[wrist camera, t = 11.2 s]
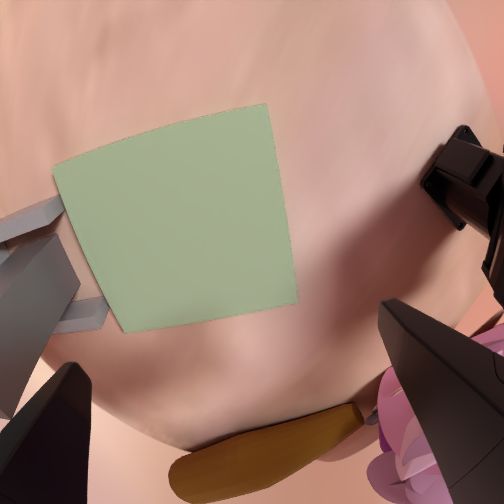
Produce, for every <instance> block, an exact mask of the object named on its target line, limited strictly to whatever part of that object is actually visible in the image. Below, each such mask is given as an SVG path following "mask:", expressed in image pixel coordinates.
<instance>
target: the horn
mask: <svg viewBox="0 0 504 504" xmlns="http://www.w3.org/2000/svg"><path fill="white" fill-rule="evenodd" d="M364 422H365V421H364V418H363V416H362V414H361V412H360V410H359V409H358V407H357V406H356V405H355V404H353V403H350V404H343V405H341V406H338V407H335V408H332V409H329V410H326V411H323V412H320V413H317V414H313V415H310V416H307V417H304V418H300V419H297V420H293V421H290V422H286V423H282V424H279V425H275V426H271V427H267V428H263V429H259V430H254V431H250V432H246V433H243V434H240V435H236V436H234V437H231V438H229V439H227V440H224V441H222V442H219V443H217V444H214V445H212V446H209V447H207V448H204V449H201V450H199V451H196V452H193V453H191V454H188V455H185V456H182V457H181V458H179V459H177V460H176V461H175V462H174V463H173V464H172V465H171V467H170V470H169V474H168V477H169V483H170V486H171V488H172V490H173V491H174V492H175V494H176V495H177V496H178V497H179V498H180V499H182V500H184V501H186V502H189V503H191V504H206V503H211V502H215V501H220V500H224V499H229V498H233V497H237V496H241V495H245V494H248V493H252V492H255V491H259V490H262V489H265V488H268V487H270V486H272V485H274V484H276V483H278V482H279V481H281V480H283V479H285V478H286V477H288V476H290V475H291V474H293V473H295V472H296V471H298V470H300V469H301V468H303V467H304V466H306V465H307V464H309V463H311V462H312V461H314V460H315V459H317V458H318V457H320V456H321V455H323V454H324V453H326V452H327V451H329V450H330V449H332V448H333V447H334V446H336V445H337V444H339V443H340V442H341V441H343V440H344V439H345V438H347V437H348V436H350V435H351V434H352V433H353V432H355V431H356V430H357V429H359V428H360V427H361V426H363V425H364Z"/></svg>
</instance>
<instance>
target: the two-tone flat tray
mask: <svg viewBox="0 0 504 504" xmlns="http://www.w3.org/2000/svg"><path fill="white" fill-rule="evenodd" d="M51 169H52V172H53V175H54V178H55V181H56V184H57V187H58V189H59V192H60V195H61V198H62V200H63V203H64V206H65V208H66V211H67V214H68V216H69V219H70V221H71V224H72V226H73V229H74V231H75V234H76V236H77V238H78V241H79V243H80V245H81V248H82V250H83V252H84V254H85V257H86V259H87V261H88V263H89V265H90V267H91V270H92V272H93V274H94V276H95V278H96V280H97V282H98V284H99V286H100V288H101V290H102V292H103V294H104V296H105V298H106V300H107V302H108V304H109V306H110V308H111V309H112V311H113V313H114V315H115V317H116V319H117V321H118V322H119V324H120V326H121V328H122V329H123V331H124V333H125V334H126V333H133V332H140V331H147V330H154V329H161V328H167V327H173V326H180V325H186V324H192V323H198V322H203V321H209V320H215V319H220V318H226V317H231V316H236V315H241V314H247V313H252V312H257V311H262V310H267V309H272V308H276V307H281V306H286V305H290V304H295V303H299V299H298V291H297V284H296V277H295V269H294V262H293V255H292V248H291V241H290V235H289V228H288V222H287V215H286V209H285V203H284V196H283V190H282V184H281V178H280V172H279V166H278V161H277V155H276V149H275V144H274V138H273V133H272V127H271V122H270V116H269V111H268V106H267V104H261V105H255V106H250V107H244V108H239V109H234V110H229V111H225V112H220V113H215V114H211V115H207V116H203V117H198V118H194V119H190V120H186V121H183V122H179V123H175V124H171V125H168V126H164V127H161V128H157V129H154V130H151V131H147V132H144V133H141V134H138V135H135V136H132V137H128V138H125V139H122V140H119V141H117V142H114V143H111V144H108V145H105V146H102V147H100V148H97V149H94V150H92V151H89V152H86V153H84V154H81V155H79V156H76V157H74V158H71V159H69V160H66V161H64V162H62V163H59V164H57V165H55V166H53V167H52V168H51ZM60 195H56V196H54V197H51V198H49V199H46V200H44V201H41V202H39V203H36V204H34V205H32V206H29V207H27V208H25V209H22V210H20V211H18V212H15V213H13V214H11V215H9V216H6V217H4V218H2V219H0V265H1V264H2V263H3V262H4V261H5V260H6V259H7V258H8V257H9V256H10V253H9V251H8V249H7V247H6V245H5V243H4V241H5V240H8V239H10V238H13V237H16V236H18V235H21V234H24V233H26V232H29V231H32V230H34V229H37V228H40V227H43V226H45V225H48V224H50V223H51V222H52V221H53V220H54V219H55V218H56V217H57V216H59V215H60V214H61V213H62V212H63V211H64V210H65V209H64V206H63V203H62V201H61V198H60ZM104 296H102V297H97V298H91V299H86V300H81V301H75V302H70V303H69V304H68V306H67V307H66V309H65V311H64V313H63V314H62V316H61V318H60V320H59V322H58V323H57V325H56V327H55V329H54V331H53V332H52V334H51V335H53V334H61V333H70V332H78V331H86V330H93V329H101V327H102V325H103V323H104V320H105V318H106V316H107V313H108V311H109V309H110V308H109V306H108V304H107V302H106V300H105V298H104Z"/></svg>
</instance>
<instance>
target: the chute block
mask: <svg viewBox="0 0 504 504" xmlns="http://www.w3.org/2000/svg"><path fill="white" fill-rule="evenodd" d="M80 284H81V283H80V281H79V279H78V277H77V275H76V273H75V271H74V269H73V267H72V265H71V263H70V261H69V259H68V257H67V255H66V252H65V250H64V248H63V246H62V244H61V241H60V239H59V237H58V234H54V235H51V236H48V237H45V238H42V239H39V240H36V241H33V242H30V243H27V244H24V245H22V246H19V247H18V248H17V249H16V250H15V251H14V252H13V253H12V254H11V255H10V256H9V257H8V258H7V259H6V260H5V261H4V262H3V263H2V264H1V265H0V418H2V419H7V420H11V419H12V418H13V415H14V413H15V410H16V408H17V406H18V403H19V401H20V398H21V396H22V393H23V391H24V389H25V387H26V385H27V383H28V380H29V378H30V376H31V374H32V372H33V370H34V368H35V366H36V364H37V362H38V360H39V358H40V356H41V354H42V352H43V350H44V348H45V346H46V344H47V342H48V340H49V338H50V336H51V334H52V332H53V331H54V329H55V327H56V325H57V323H58V322H59V320H60V318H61V316H62V314H63V313H64V311H65V309H66V307H67V306H68V304H69V302H70V301H71V299H72V297H73V296H74V294H75V292H76V291H77V289H78V287H79V286H80Z"/></svg>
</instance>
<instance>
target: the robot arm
mask: <svg viewBox="0 0 504 504" xmlns="http://www.w3.org/2000/svg"><path fill="white" fill-rule="evenodd" d="M464 131H465V133H464ZM503 153H504V146H503ZM427 182H428V186H426V183H427ZM420 185H421V188H422V189H423V190H424V192H425V193H426V194H427V195H428V196H429V197H430V198H431V200H432V201H433V202H434V203H435V204H436V205H437V207H438V208H439V209H440V210H441V211H442V212H443V214H444V215H445V216H446V217H447V219H448V220H449V221H450V222H451V224H452V225H453V226H454V227H455V228H456V229H457V230H459V231H460V230H462V229H463V228H464V227H465V226H466V224H469V225H470V226H471V227H473V228H474V229H475V230H477V231H478V232H480V233H481V234H482V235H484V236H485V237H486V238H487V239H489V240H490V242H489V246H488V250H487V253H486V257H485V260H484V261H483V264H482V267H481V269H482V271H483V272H484V274H485V276H486V278H487V280H488V281H489V283H490V285H491V287H492V289H493V291H494V294H493V295H494V297H495V299H496V300H497V301H498V303H499V304H500V305H501V306H502V307H503V309H504V157H503V156H500V155H498V154H496V153H493V152H490V151H489V150H488V149H485V148H483V147H482V146H481V144H480V142H479V141H478V139H477V138H476V136H475V135H474V133H473V132H472V130H471V129H470V127H469V126H467V125H461V126H460V127H459V129H458V130H457V132H456V133H455V135H454V136H453V137H452V139H451V140H450V141H449V143H448V144H447V146H446V147H445V148H444V150H443V151H442V153H441V154H440V155H439V157H438V158H437V160H436V161H435V163H434V164H433V165H432V167H431V168H430V169H429V171H428V172H427V173H426V175H425V176H424V177H423V179H422V180H421V183H420ZM459 224H460V225H459ZM378 329H379V332H380V335H381V337H382V340H383V342H384V345H385V348H386V350H387V353H388V356H389V358H390V361H391V364H392V366H393V369H394V372H395V374H396V376H397V378H398V381H399V383H400V385H401V387H402V389H403V391H404V393H405V395H406V397H407V399H408V401H409V403H410V405H411V407H412V409H413V411H414V413H415V415H416V418H417V420H418V422H419V424H420V426H421V428H422V430H423V433H424V435H425V437H426V439H427V441H428V444H429V446H430V448H431V450H432V453H433V455H434V457H435V460H436V462H437V464H438V467H439V469H440V471H441V474H442V476H443V479H444V481H445V484H446V486H447V488H448V492H449V494H450V497H451V499H452V502H453V504H504V357H503V356H502V355H500V354H498V353H496V352H494V351H493V352H492V350H491V349H489V348H487V347H485V346H483V345H482V344H480V343H478V342H476V341H474V340H473V339H471V338H469V337H467V336H465V335H463V334H462V333H460V332H458V331H456V330H454V329H452V328H451V327H449V326H447V325H445V324H443V323H441V322H439V321H437V320H436V319H434V318H432V317H430V316H428V315H426V314H424V313H422V312H421V311H419V310H417V309H415V308H413V307H411V306H409V305H407V304H405V303H404V302H402V301H400V300H398V299H396V298H389V299H385V300H382V301H380V303H379V310H378ZM91 396H92V383H91V380H90V378H89V376H88V375H87V374H86V373H85V371H84V370H83V369H82V368H81V366H80V365H79V364H78V363H77V362H67V363H65V364H63V365H62V366H61V367H60V368H59V370H58V371H57V372H56V373H55V374H54V375H53V376H52V377H51V378H50V379H49V380H48V381H47V382H46V383H45V384H44V385H43V386H42V387H41V388H40V389H39V391H37V392H36V393H35V395H34V396H33V397H32V398H31V399H30V400H29V401H28V402H27V403H26V404H25V405H24V406H23V408H21V410H20V411H19V412H18V413H17V414H16V415H15V416H14V417H13V418H12V419H11V420H10V422H9V423H8V424H7V425H6V426H5V427H4V428H3V429H2V431H1V433H0V504H87V484H88V459H89V445H90V433H91Z"/></svg>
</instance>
